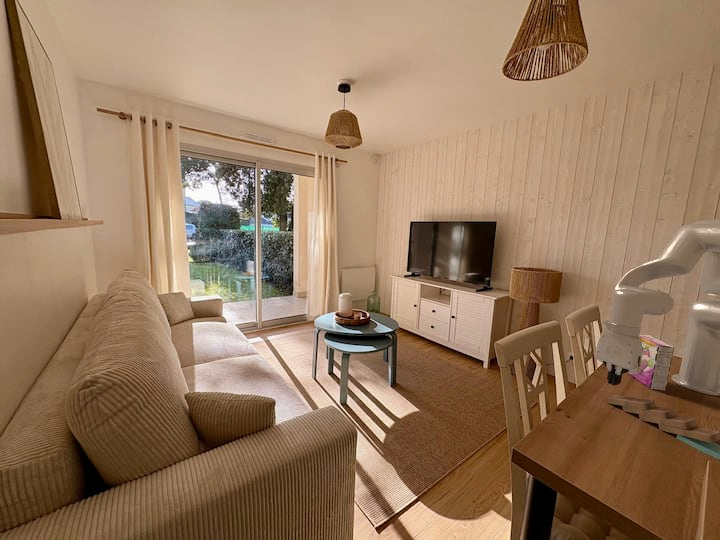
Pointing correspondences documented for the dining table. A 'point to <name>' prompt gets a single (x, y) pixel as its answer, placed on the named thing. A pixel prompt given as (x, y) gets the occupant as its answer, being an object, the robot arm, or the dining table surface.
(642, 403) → the domino
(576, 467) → the dining table surface
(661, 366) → the candy bar box
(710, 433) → the domino
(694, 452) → the dining table surface
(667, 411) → the domino
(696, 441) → the teal domino
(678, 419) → the domino
